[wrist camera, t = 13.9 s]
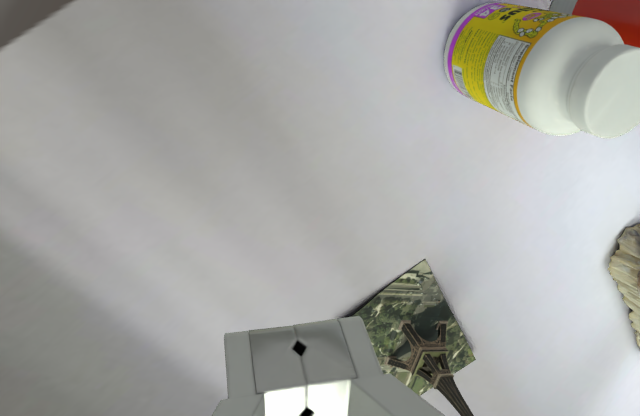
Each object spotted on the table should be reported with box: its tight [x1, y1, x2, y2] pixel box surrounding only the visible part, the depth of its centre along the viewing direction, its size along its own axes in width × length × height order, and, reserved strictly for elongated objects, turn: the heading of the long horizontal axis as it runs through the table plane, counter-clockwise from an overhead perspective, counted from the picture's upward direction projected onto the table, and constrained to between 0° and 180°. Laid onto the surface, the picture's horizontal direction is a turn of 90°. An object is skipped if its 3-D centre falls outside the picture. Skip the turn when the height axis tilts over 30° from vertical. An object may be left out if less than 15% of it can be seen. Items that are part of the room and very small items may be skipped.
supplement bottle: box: [444, 2, 640, 138], centre depth 31 cm, size 7×7×13 cm
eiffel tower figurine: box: [351, 260, 476, 416], centre depth 43 cm, size 15×10×13 cm
